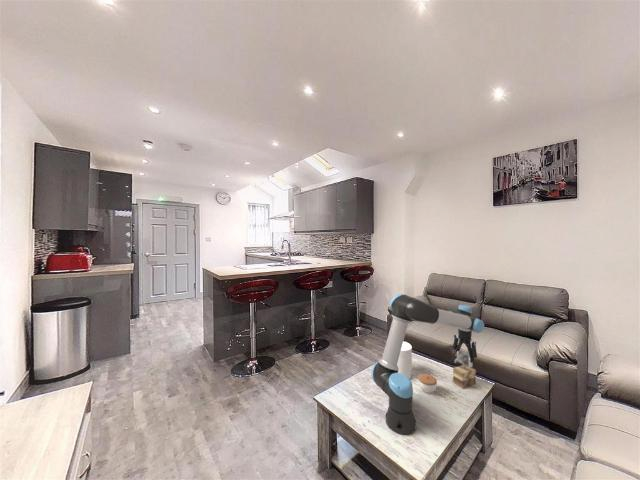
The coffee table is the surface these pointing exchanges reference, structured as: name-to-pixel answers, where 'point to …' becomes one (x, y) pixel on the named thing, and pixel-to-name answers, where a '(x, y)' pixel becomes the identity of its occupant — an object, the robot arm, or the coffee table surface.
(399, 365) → the canister
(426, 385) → the lidded jar
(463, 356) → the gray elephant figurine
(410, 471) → the coffee table surface
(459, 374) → the light wooden block
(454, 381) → the tower base
